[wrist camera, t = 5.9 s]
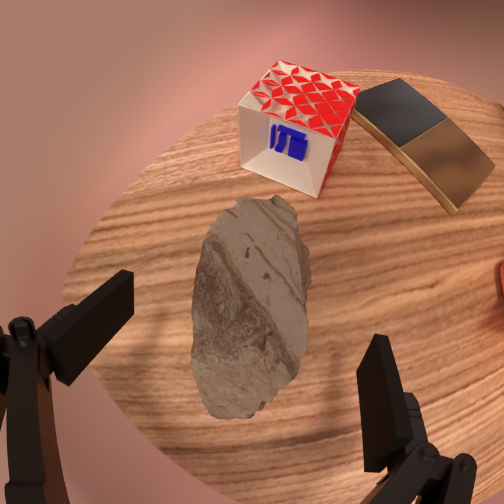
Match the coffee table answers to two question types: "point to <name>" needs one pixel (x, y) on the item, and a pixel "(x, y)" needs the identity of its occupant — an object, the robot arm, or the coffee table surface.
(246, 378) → the stone
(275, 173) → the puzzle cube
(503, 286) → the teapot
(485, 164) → the board
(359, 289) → the coffee table surface
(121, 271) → the robot arm
